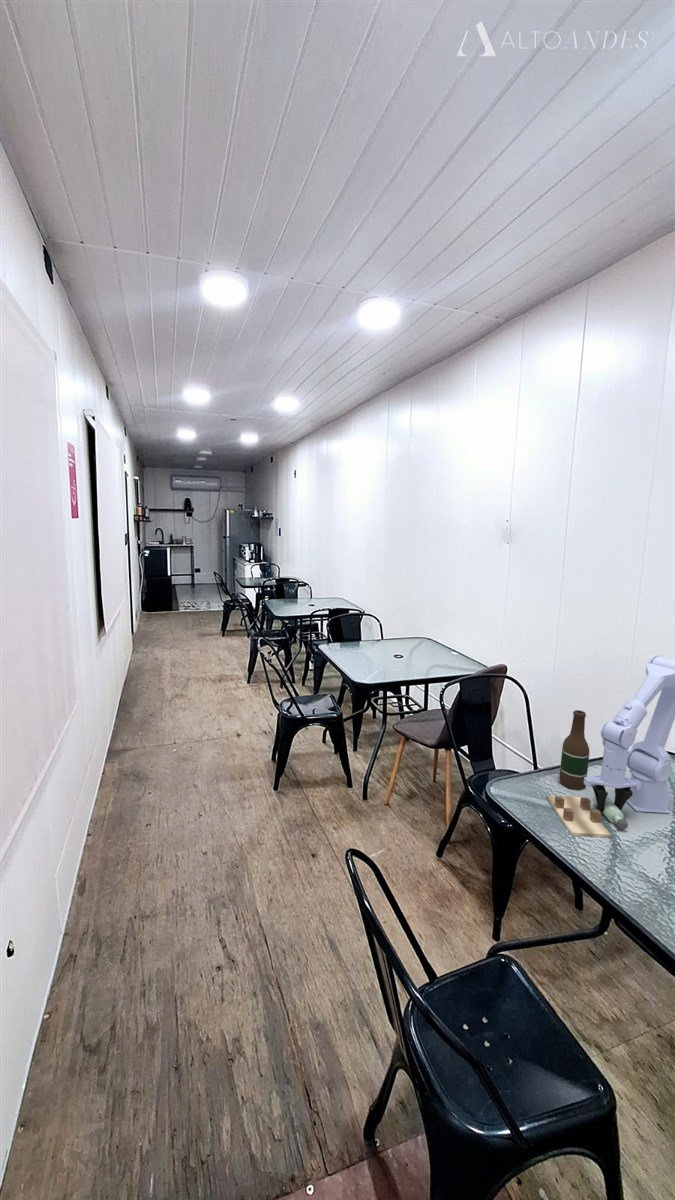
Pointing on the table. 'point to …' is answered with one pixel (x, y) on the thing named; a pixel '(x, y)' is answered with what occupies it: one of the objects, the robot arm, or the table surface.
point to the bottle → (613, 813)
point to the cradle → (578, 816)
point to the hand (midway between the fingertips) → (608, 810)
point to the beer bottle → (575, 755)
